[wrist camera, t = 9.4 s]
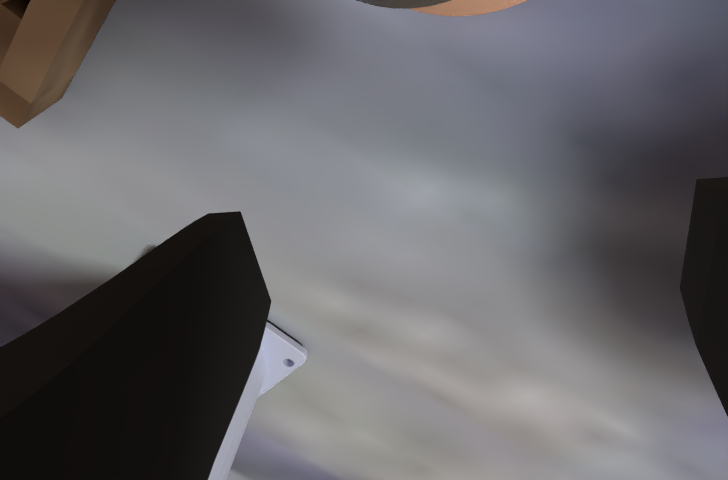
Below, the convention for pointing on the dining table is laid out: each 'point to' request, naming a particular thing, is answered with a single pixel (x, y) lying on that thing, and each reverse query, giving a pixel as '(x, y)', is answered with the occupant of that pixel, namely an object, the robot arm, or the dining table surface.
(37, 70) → the housing
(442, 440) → the dining table surface
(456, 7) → the dish
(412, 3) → the end cover
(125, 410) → the robot arm
